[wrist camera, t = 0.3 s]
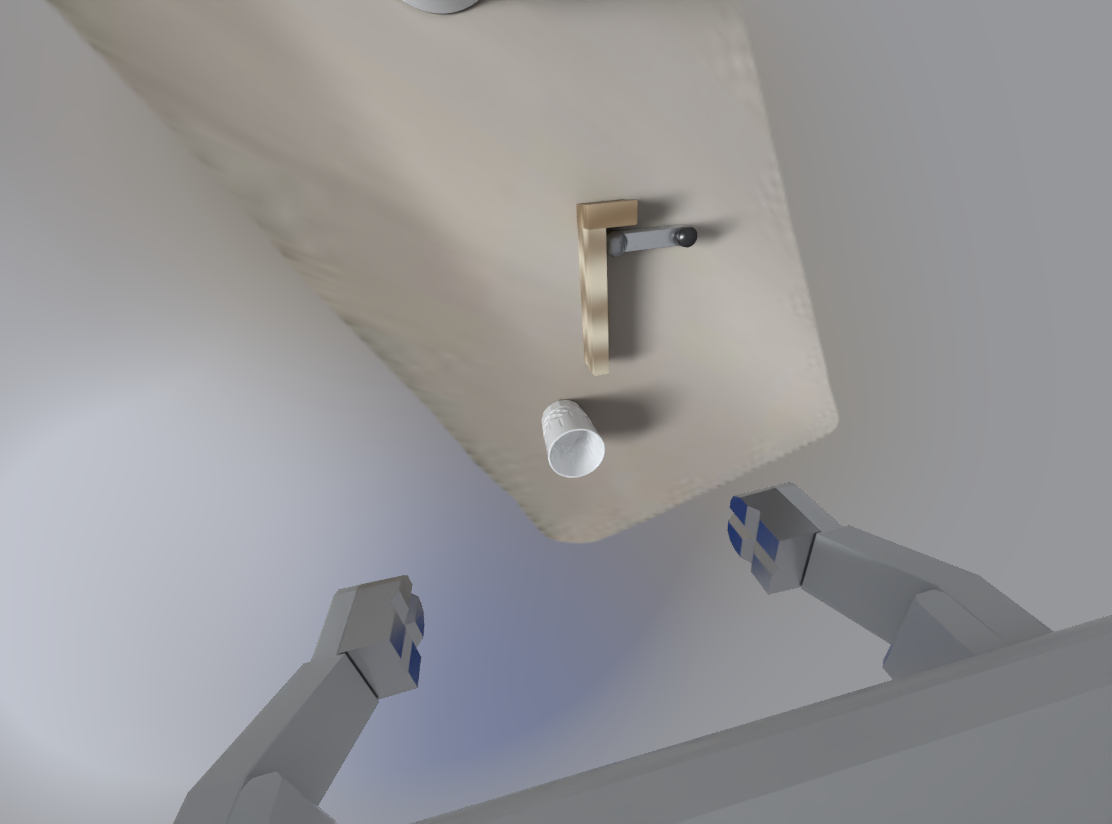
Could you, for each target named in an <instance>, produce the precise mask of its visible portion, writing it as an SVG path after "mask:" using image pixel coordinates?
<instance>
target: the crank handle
mask: <svg viewBox="0 0 1112 824" xmlns="http://www.w3.org/2000/svg"><path fill="white" fill-rule="evenodd" d="M696 240H697V231H696V230H695V229H694V228H692V227H691V226H685V225H670V226H661V227H652V228H643V229H634V230H625V231H616V230H612V229H606V253H607V254H609V255H611V256H620V255H621V254H623V253H624V252H628V251H636V250H645V249H653V248H662V247H670V246H678V245H679V246H683V247H690V246H692V245H693V244H694V243H695V242H696Z"/></svg>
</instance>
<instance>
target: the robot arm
mask: <svg viewBox="0 0 1112 824" xmlns="http://www.w3.org/2000/svg"><path fill="white" fill-rule="evenodd" d="M403 1H404V2H406V3H407V4H409V5H411V6H413V7H415V8H418V9H420V10H423V11H427V12H431V13H439V14H445V13H453V12H457V11H461V10H463V9H465V8H467V7H469V6H471V5H473V4H474V3H476V2H477V1H478V0H403ZM730 509H731V510H732V511H733V512H734V514H733V515H732V516H731V518H730V519H729V520H728V534H729V538H730V541H731V543H732V545H733V547H734V549H735V551H736V552H737V553H738V555H739V556H740V557H741V558H743V559H745V560H747V561H749V562H751V572H752V574H753V575H754V576H755V577H756V579H757V580H758V582H759V583H760V584H761V586H762V587H763V588H764V590H765V591H766V592H767V594H772V593H777V592H781V591H785V590H790V589H794V588H798V587H802V589H803V590H804V591H806V592H808V593H809V594H811V595H812V596H814V597H816V598H817V599H819V600H820V601H822V602H824V603H825V604H827V605H828V606H830V607H832V608H833V609H835V610H837V611H838V612H840V613H841V614H843V615H845V616H846V617H848V618H849V619H851V620H853V621H854V622H856V623H858V624H859V625H861V626H862V627H864V628H865V629H867V630H869V631H870V632H872V633H873V634H875V635H877V636H878V637H880V638H881V639H883V640H885V641H886V642H888V643H889V644H891V645H890V647H889V650H888V652H887V654H886V656H885V657H884V660H883V669H884V670H885V671H886V672H887V673H888V674H889V676H890V677H891V678H892V679H893V680H891V681H888V682H884V683H881V684H877V685H874V686H871V687H867V688H864V689H861V690H857V691H854V692H851V693H847V694H844V695H841V696H837V697H834V698H830V699H827V700H824V701H820V702H817V703H814V704H811V705H807V706H803V707H800V708H797V709H793V710H790V711H787V712H783V713H780V714H777V715H773V716H770V717H766V718H763V719H760V720H756V721H753V722H750V723H747V724H743V725H740V726H736V727H733V728H730V729H726V730H723V731H720V732H716V733H713V734H709V735H706V736H703V737H699V738H696V739H693V740H689V741H686V742H682V743H679V744H676V745H673V746H669V747H666V748H662V749H659V750H656V751H652V752H649V753H645V754H643V755H639V756H635V757H632V758H629V759H625V760H622V761H619V762H615V763H612V764H608V765H605V766H602V767H599V768H595V769H592V770H588V771H585V772H582V773H578V774H575V775H571V776H568V777H565V778H562V779H558V780H555V781H551V782H548V783H545V784H541V785H538V786H535V787H531V788H528V789H525V790H521V791H518V792H514V793H511V794H508V795H505V796H501V797H498V798H494V799H491V800H488V801H484V802H481V803H478V804H474V805H471V806H467V807H464V808H461V809H458V810H454V811H451V812H447V813H444V814H441V815H437V816H434V817H431V818H427V819H424V820H421V821H417V822H414V823H410V824H1112V615H1110V616H1106V617H1103V618H1100V619H1096V620H1093V621H1089V622H1086V623H1083V624H1079V625H1076V626H1073V627H1069V628H1066V629H1062V630H1059V631H1056V632H1054V631H1052V630H1051V629H1050V628H1048V627H1047V626H1046V625H1044V624H1043V623H1042V622H1040V621H1039V620H1038V619H1036V618H1035V617H1034V616H1032V615H1031V614H1030V613H1028V612H1027V611H1026V610H1024V609H1023V608H1022V607H1020V606H1019V605H1018V604H1016V603H1015V602H1014V601H1012V600H1011V599H1010V598H1008V597H1007V596H1006V595H1004V594H1003V593H1002V592H1000V591H999V590H998V589H996V588H995V587H994V586H992V585H991V584H990V583H988V582H987V581H986V580H985V579H983V578H982V577H981V576H979V575H977V574H974V573H972V572H969V571H966V570H964V569H961V568H959V567H956V566H953V565H951V564H948V563H946V562H943V561H940V560H938V559H935V558H932V557H930V556H927V555H924V554H922V553H920V552H917V551H914V550H911V549H909V548H907V547H904V546H901V545H898V544H896V543H893V542H891V541H888V540H885V539H883V538H880V537H878V536H875V535H873V534H870V533H867V532H865V531H862V530H860V529H857V528H854V527H852V526H849V525H848V526H844V527H843V526H842V525H840V524H839V523H838V522H837V521H836V520H835V519H834V518H833V517H832V516H830V515H829V514H828V513H827V512H826V511H825V510H824V509H823V508H821V507H820V506H819V505H818V504H817V503H816V502H815V501H814V500H812V499H811V498H810V497H809V496H808V495H807V494H806V493H805V492H803V491H802V490H801V489H800V488H799V487H798V486H797V485H795V484H793V483H791V482H788V483H784V484H780V485H776V486H772V487H767V488H763V489H759V490H755V491H751V492H747V493H743V494H739V495H735V496H733V497H732V499H731V501H730ZM411 590H412V583H411V581H410V580H409V577H408V576H407V575H403V576H398V577H393V578H389V579H384V580H380V581H375V582H370V583H365V584H361V585H357V586H353V587H348V588H344V589H339V590H338V591H337V593H336V594H335V595H334V596H333V599H332V602H331V605H330V608H329V610H328V613H327V616H326V619H325V622H324V625H323V628H322V630H321V633H320V636H319V639H318V642H317V645H316V648H315V651H314V653H313V657H312V659H311V662H308V663H305V664H303V665H302V666H301V667H300V668H299V669H298V670H297V672H296V673H295V674H294V675H293V676H292V677H291V678H290V679H289V680H288V682H287V683H286V684H285V685H284V686H283V687H282V688H281V689H280V690H279V692H278V693H277V694H276V695H275V696H274V697H273V698H272V699H271V701H270V702H269V703H268V704H267V705H266V706H265V707H264V708H263V710H262V711H261V712H260V713H259V714H258V715H257V716H256V717H255V718H254V720H253V721H252V722H251V723H250V724H249V725H248V726H247V727H246V729H245V730H244V731H243V732H242V733H241V734H240V735H239V736H238V738H237V739H236V740H235V741H234V742H233V743H232V744H231V745H230V746H229V748H228V749H227V750H226V751H225V752H224V753H223V754H222V755H221V756H220V758H219V759H218V760H217V761H216V762H215V763H214V764H213V765H212V767H211V768H210V769H209V770H208V771H207V772H206V773H205V774H204V776H203V777H202V778H201V779H200V780H199V781H198V782H197V783H196V785H195V786H194V787H193V788H192V789H191V790H190V791H189V792H188V794H187V796H186V798H185V800H184V802H183V804H182V806H181V808H180V811H179V813H178V815H177V817H176V819H175V821H174V823H173V824H337V823H336V822H335V820H334V819H333V818H331V817H330V816H329V815H328V814H327V813H325V812H324V811H323V810H322V809H321V808H320V807H318V805H319V803H320V802H321V800H322V798H323V797H324V795H325V793H326V791H327V790H328V788H329V786H330V785H331V783H332V781H333V779H334V778H335V776H336V774H337V773H338V771H339V769H340V768H341V765H342V764H343V762H344V761H345V759H346V757H347V756H348V754H349V752H350V750H351V749H352V747H353V745H354V744H355V742H356V740H357V738H358V737H359V735H360V733H361V732H362V730H363V728H364V727H365V725H366V723H367V721H368V720H369V718H370V716H371V715H372V713H373V711H374V709H375V708H376V706H377V704H378V702H379V701H378V700H379V699H382V698H385V697H389V696H392V695H395V694H399V693H402V692H406V691H409V690H412V689H416V688H418V681H419V671H420V663H421V656H420V654H419V652H418V650H417V648H416V647H417V646H418V645H419V643H420V642H421V640H422V639H423V636H424V612H423V608H422V604H421V602H420V599H419V597H418V596H416V595H414V594H412V593H411Z"/></svg>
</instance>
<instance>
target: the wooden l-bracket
mask: <svg viewBox="0 0 1112 824" xmlns="http://www.w3.org/2000/svg"><path fill="white" fill-rule="evenodd" d="M637 205H638V200H624V199H621V200H611V201H601V202H592V203H582V204H577V223H578V242H579V262H580V281H581V300H582V319H583V338H584V357H585V362H586V364H587V365H588V367H589V368H590V370H591V371H592V373H593V374H594V376H597V375H603V374H609V350H608V332H609V312H608V300H607V254H606V228H610V227H620V226H629V225H637Z"/></svg>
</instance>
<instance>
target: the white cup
mask: <svg viewBox="0 0 1112 824" xmlns="http://www.w3.org/2000/svg"><path fill="white" fill-rule="evenodd" d="M541 422H542V426H543V435H544V441H545V446H546V450H547V455H548V460H549V464H550V466H551V468H552V469H553V470H554V471H555V472H556V473H558V474H559V475H562V476H564V477H570V478H575V477H581V476H584V475H587V474H589V473H591V472H592V471H594V470H595V469H596V468H597V467H598V466H599V465H600V463H601V462H602V460H603V458H604V455H605V444H604V441H603V439H602V438H601V436H600V435H599V433H598V432H597V430H596V428H595V427H594V425H593V424H592V422H591V421H590V419H589V418H588V416H587V415H586V413H585V412H584V411H583V409H582V408H581V407H580V406H579V405H578V404H577V403H576V402H573V401H570V400H558V401H556V402H554V403H552V404H550V405H549V406H548V407H547V409H546V410H545V411H544V412H543V416H542V421H541Z"/></svg>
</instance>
